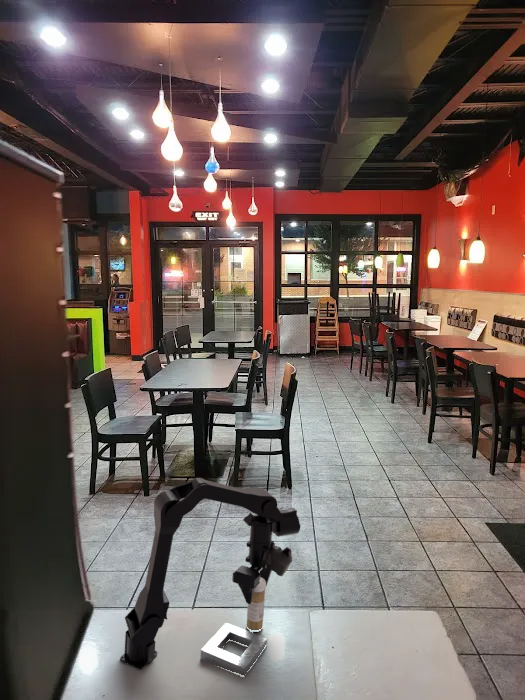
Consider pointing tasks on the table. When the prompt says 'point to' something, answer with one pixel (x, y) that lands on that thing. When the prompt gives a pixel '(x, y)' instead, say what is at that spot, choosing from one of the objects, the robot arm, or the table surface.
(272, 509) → the robot arm
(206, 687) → the table surface
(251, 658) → the metal collar
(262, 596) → the sprinkles bottle
